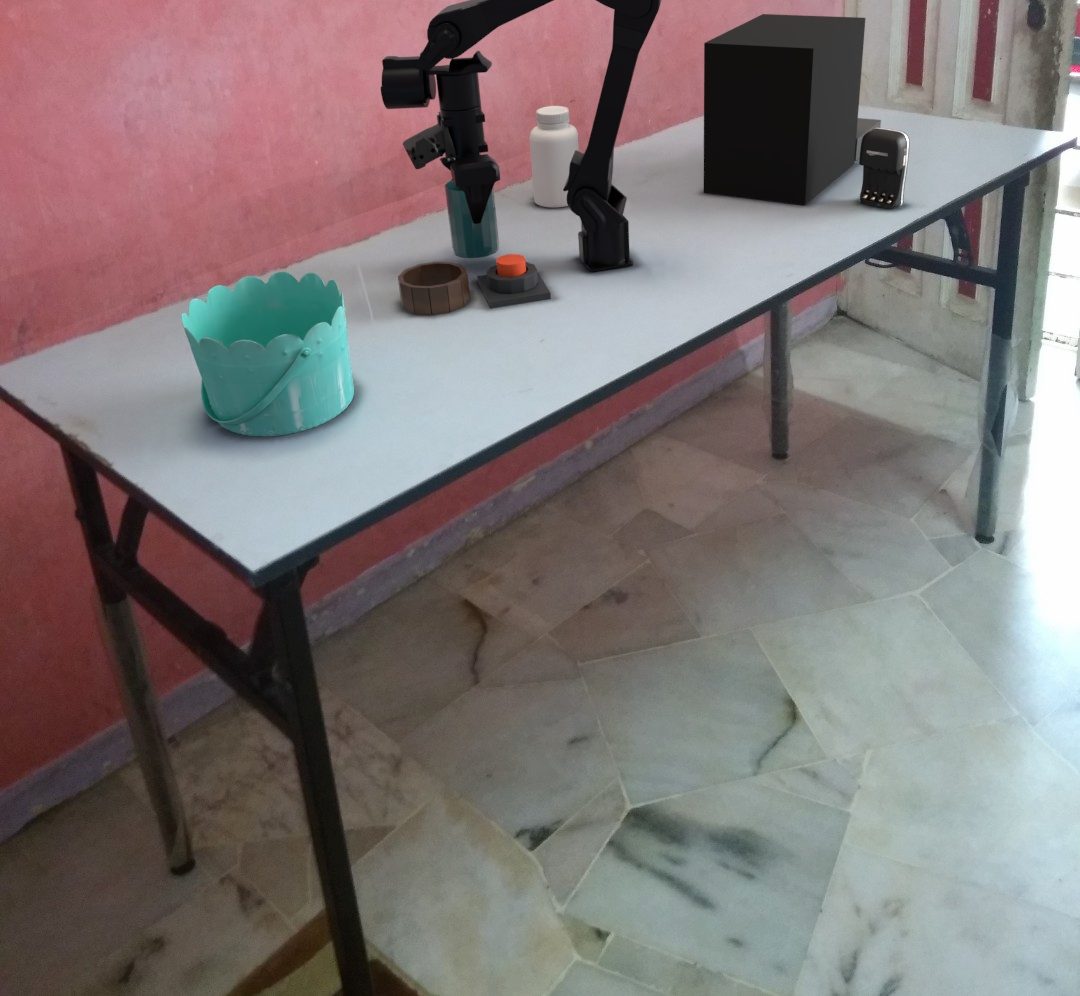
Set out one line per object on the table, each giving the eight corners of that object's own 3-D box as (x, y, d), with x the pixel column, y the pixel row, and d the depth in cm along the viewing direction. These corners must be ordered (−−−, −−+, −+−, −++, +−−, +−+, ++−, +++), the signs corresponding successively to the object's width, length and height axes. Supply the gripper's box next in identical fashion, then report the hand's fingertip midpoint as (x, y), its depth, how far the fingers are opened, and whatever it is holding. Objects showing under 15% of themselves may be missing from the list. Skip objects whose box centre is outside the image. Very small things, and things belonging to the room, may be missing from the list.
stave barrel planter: (463, 284, 164) (460, 257, 162) (474, 308, 156) (471, 281, 154) (398, 294, 163) (394, 267, 160) (406, 319, 155) (402, 292, 153)
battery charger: (852, 204, 180) (858, 131, 174) (865, 197, 182) (871, 124, 176) (892, 212, 176) (899, 137, 170) (905, 205, 178) (912, 131, 172)
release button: (495, 270, 161) (493, 256, 160) (522, 266, 161) (521, 252, 160) (500, 280, 157) (499, 266, 156) (529, 276, 158) (527, 262, 157)
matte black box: (878, 144, 205) (891, 3, 192) (806, 205, 181) (814, 48, 168) (784, 136, 214) (790, 0, 201) (703, 193, 190) (704, 43, 177)
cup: (494, 239, 172) (487, 173, 167) (503, 254, 167) (496, 186, 161) (449, 245, 171) (441, 179, 166) (457, 261, 166) (449, 193, 160)
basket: (376, 420, 131) (358, 316, 124) (215, 457, 127) (187, 352, 120) (343, 355, 147) (325, 260, 140) (199, 386, 142) (173, 289, 135)
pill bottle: (577, 208, 188) (572, 115, 180) (529, 208, 190) (522, 116, 181) (585, 193, 194) (580, 102, 186) (539, 193, 196) (532, 103, 188)
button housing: (477, 282, 164) (475, 262, 163) (535, 273, 165) (533, 253, 164) (490, 308, 156) (488, 288, 154) (551, 299, 157) (549, 278, 156)
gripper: (394, 98, 164) (409, 204, 173) (411, 130, 149) (427, 245, 157) (470, 88, 166) (481, 193, 174) (495, 118, 150) (506, 233, 159)
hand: (472, 215), depth 166 cm, fingers closed on cup, 7 cm apart
